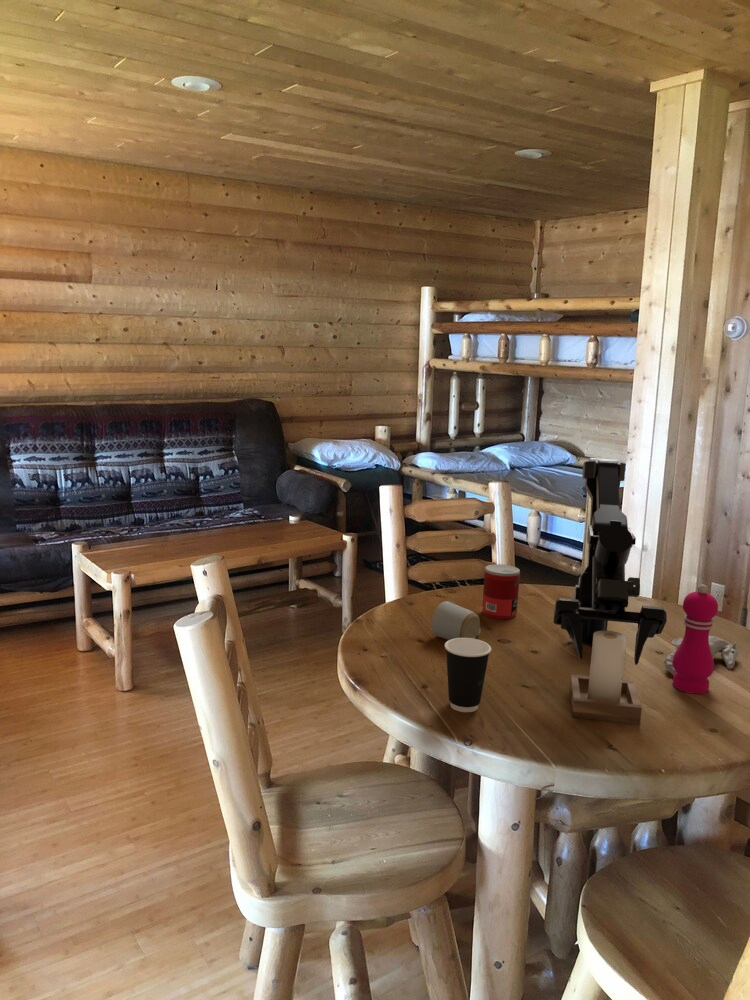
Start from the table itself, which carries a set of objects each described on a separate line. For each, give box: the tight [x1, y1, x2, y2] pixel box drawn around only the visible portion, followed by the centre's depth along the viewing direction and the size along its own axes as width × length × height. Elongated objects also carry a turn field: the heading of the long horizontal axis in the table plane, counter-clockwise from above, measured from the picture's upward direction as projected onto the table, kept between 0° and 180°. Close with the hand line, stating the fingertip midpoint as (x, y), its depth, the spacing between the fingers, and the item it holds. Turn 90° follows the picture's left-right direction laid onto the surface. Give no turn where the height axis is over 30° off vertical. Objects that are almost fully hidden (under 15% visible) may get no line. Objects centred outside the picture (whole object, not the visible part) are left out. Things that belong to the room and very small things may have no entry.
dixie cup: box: [444, 638, 492, 713], centre depth 137 cm, size 8×8×11 cm
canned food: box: [482, 563, 521, 620], centre depth 184 cm, size 8×8×11 cm
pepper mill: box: [672, 583, 719, 695], centre depth 147 cm, size 7×7×20 cm
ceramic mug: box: [430, 600, 482, 641], centre depth 169 cm, size 11×8×8 cm
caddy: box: [569, 674, 643, 726], centre depth 139 cm, size 11×11×3 cm
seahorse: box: [663, 635, 740, 676], centre depth 159 cm, size 5×12×20 cm
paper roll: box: [587, 630, 628, 703], centre depth 138 cm, size 6×6×12 cm
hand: (608, 660), depth 137 cm, fingers open, 9 cm apart
